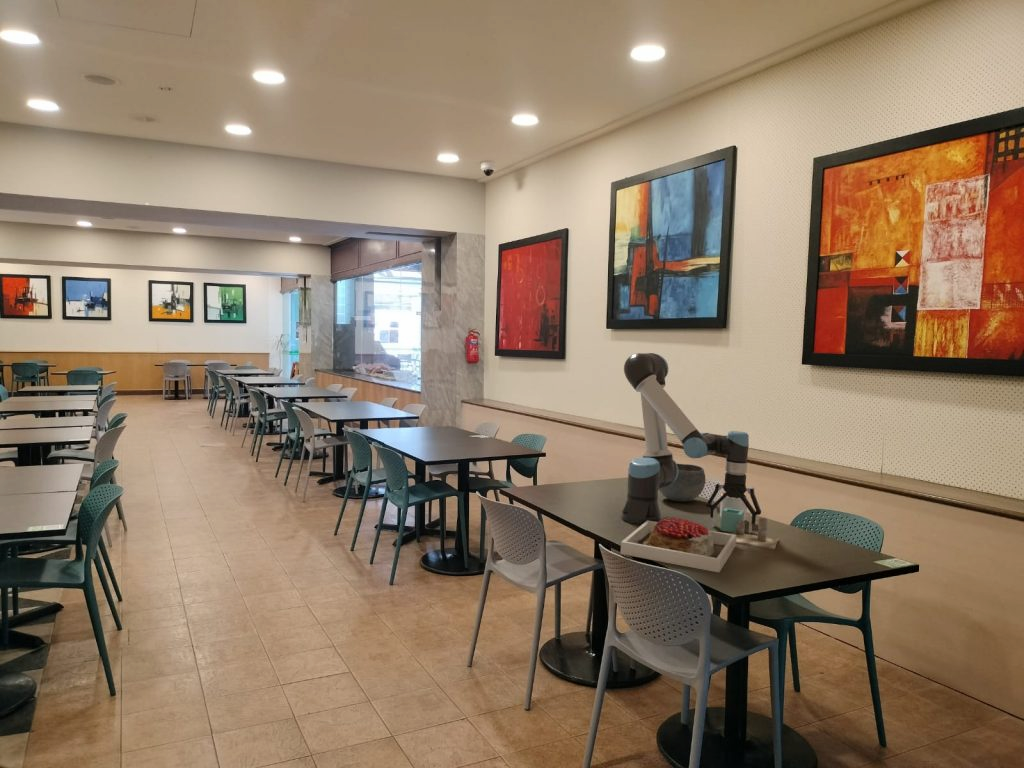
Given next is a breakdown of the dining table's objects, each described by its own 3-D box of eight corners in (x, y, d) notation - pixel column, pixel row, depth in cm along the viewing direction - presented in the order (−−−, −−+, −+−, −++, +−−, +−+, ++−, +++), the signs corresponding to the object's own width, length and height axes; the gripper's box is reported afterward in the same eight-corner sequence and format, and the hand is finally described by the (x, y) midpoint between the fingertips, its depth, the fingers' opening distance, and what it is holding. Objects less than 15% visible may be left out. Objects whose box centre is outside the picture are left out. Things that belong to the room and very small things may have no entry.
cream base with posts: (726, 541, 250) (728, 517, 249) (732, 533, 260) (733, 510, 260) (774, 549, 243) (776, 525, 242) (778, 540, 253) (780, 517, 253)
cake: (630, 540, 246) (632, 512, 245) (697, 541, 249) (699, 513, 248) (651, 563, 223) (653, 532, 222) (725, 563, 226) (727, 532, 225)
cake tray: (620, 553, 230) (621, 541, 230) (646, 531, 258) (647, 520, 258) (719, 572, 216) (720, 559, 216) (735, 546, 244) (736, 535, 244)
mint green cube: (720, 530, 264) (721, 511, 263) (723, 525, 270) (725, 508, 269) (739, 533, 261) (741, 514, 260) (742, 529, 267) (744, 510, 266)
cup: (747, 524, 274) (749, 499, 273) (720, 522, 276) (722, 496, 275) (744, 518, 284) (746, 493, 283) (718, 515, 286) (720, 491, 285)
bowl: (709, 499, 312) (712, 466, 311) (694, 509, 294) (697, 473, 293) (664, 492, 323) (666, 459, 322) (647, 500, 306) (649, 466, 304)
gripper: (700, 470, 266) (696, 526, 267) (769, 479, 255) (765, 537, 257) (704, 467, 272) (700, 521, 274) (771, 475, 262) (767, 532, 263)
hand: (731, 529), depth 265 cm, fingers open, 12 cm apart
